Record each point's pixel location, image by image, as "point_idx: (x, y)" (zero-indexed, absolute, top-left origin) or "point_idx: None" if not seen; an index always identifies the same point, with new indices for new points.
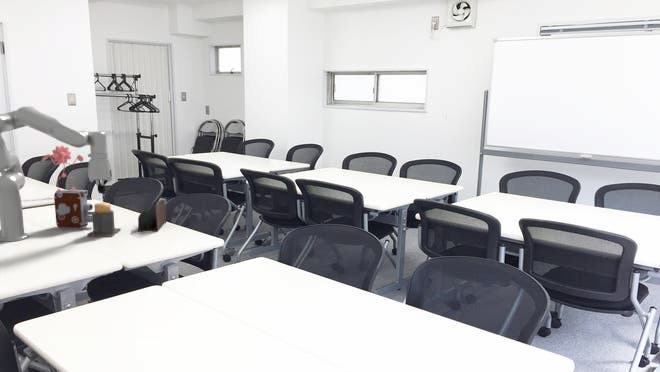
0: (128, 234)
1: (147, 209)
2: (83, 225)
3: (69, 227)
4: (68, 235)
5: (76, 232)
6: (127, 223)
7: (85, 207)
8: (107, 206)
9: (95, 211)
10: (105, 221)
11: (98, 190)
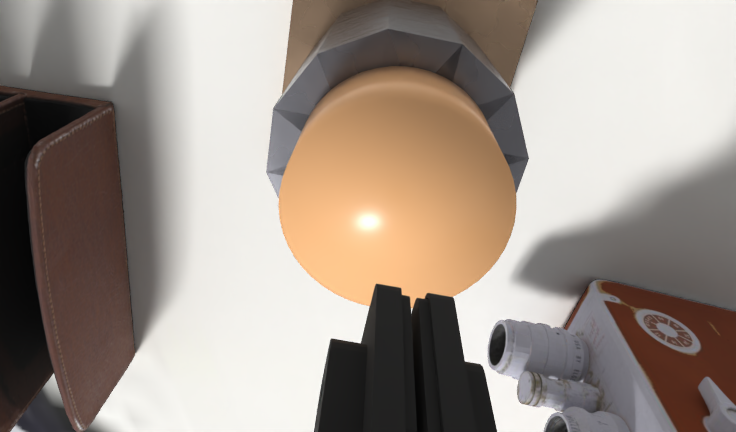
0: (169, 14)
1: (66, 412)
2: (583, 300)
3: (684, 300)
4: (696, 83)
5: (628, 173)
6: (277, 354)
7: (611, 430)
8: (306, 132)
9: (483, 117)
10: (352, 26)
11: (467, 370)
